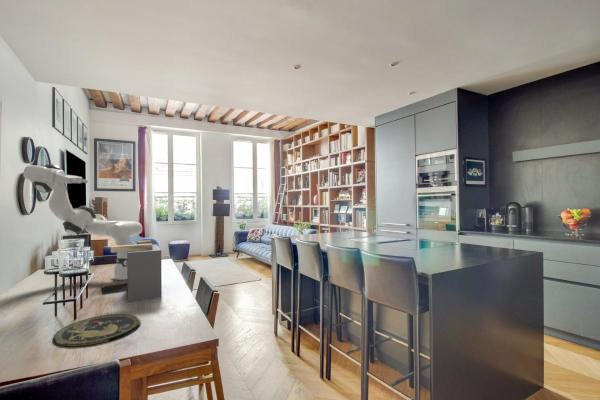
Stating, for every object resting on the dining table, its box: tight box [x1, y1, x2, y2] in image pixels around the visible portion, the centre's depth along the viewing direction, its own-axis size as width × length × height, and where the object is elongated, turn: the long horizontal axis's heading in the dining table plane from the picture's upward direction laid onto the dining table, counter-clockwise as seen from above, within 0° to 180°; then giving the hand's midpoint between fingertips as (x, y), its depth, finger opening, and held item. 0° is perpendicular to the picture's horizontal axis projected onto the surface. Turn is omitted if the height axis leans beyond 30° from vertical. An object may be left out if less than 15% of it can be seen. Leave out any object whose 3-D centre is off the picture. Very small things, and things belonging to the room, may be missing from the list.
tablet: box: [100, 282, 128, 296], centre depth 193 cm, size 27×1×20 cm
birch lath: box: [110, 242, 154, 254], centre depth 170 cm, size 4×20×3 cm, turn 120°
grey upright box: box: [126, 244, 163, 303], centre depth 179 cm, size 28×16×26 cm, turn 30°
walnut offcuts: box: [136, 239, 153, 244], centre depth 180 cm, size 6×8×4 cm
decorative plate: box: [52, 313, 141, 348], centre depth 127 cm, size 30×2×30 cm
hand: (84, 181), depth 186 cm, fingers open, 8 cm apart
